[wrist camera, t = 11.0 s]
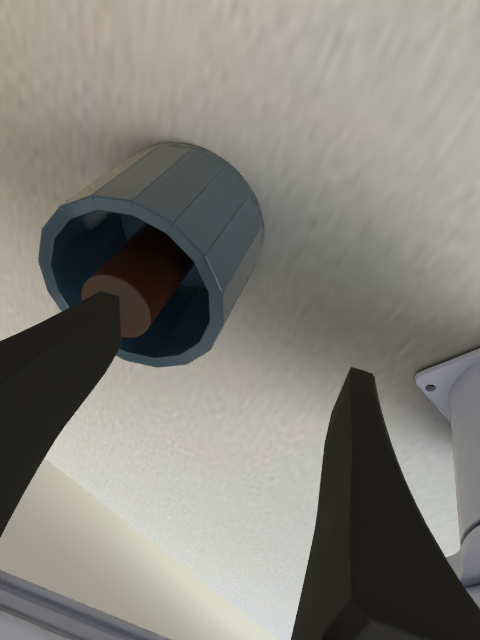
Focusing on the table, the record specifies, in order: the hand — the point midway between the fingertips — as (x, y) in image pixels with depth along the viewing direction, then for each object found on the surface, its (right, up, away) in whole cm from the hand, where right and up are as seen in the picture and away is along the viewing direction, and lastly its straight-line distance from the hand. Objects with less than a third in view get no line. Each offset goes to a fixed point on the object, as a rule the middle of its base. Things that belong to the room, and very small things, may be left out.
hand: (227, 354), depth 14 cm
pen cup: (-2, +6, +10) cm, 12 cm away
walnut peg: (-2, +6, +9) cm, 11 cm away
